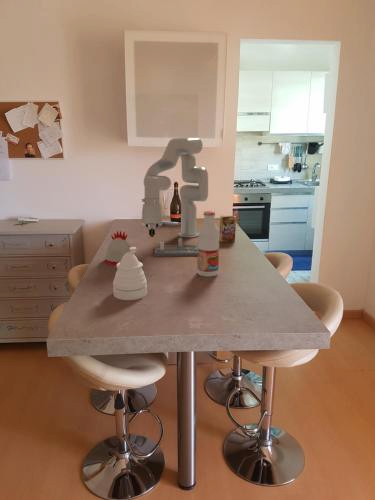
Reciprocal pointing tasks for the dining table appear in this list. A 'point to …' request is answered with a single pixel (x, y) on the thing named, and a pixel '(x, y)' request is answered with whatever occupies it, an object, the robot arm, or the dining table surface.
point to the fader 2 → (180, 242)
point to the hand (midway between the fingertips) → (151, 236)
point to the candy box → (227, 228)
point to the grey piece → (117, 249)
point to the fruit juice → (208, 246)
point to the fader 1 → (162, 245)
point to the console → (177, 250)
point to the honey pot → (129, 278)
